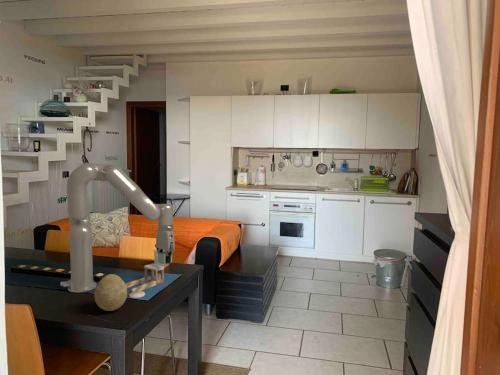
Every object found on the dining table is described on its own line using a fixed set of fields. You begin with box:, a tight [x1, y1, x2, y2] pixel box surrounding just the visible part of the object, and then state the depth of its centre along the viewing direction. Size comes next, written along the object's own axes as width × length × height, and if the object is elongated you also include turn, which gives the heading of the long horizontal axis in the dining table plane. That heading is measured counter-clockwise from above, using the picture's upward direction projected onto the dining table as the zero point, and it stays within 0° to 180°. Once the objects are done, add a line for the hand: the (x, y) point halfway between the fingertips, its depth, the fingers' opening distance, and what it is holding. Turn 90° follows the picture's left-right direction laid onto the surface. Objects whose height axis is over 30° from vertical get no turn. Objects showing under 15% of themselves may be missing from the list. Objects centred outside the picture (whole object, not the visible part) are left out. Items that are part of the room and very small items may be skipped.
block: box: [158, 251, 173, 264], centre depth 189 cm, size 5×5×5 cm
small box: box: [153, 248, 170, 269], centre depth 206 cm, size 8×6×10 cm
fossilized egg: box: [93, 273, 128, 312], centre depth 150 cm, size 13×13×15 cm
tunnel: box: [125, 262, 165, 292], centre depth 177 cm, size 18×9×8 cm, turn 144°
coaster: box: [128, 290, 146, 299], centre depth 166 cm, size 7×7×1 cm
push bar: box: [138, 273, 161, 285], centre depth 183 cm, size 12×4×2 cm, turn 143°
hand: (164, 261), depth 189 cm, fingers closed on block, 5 cm apart
